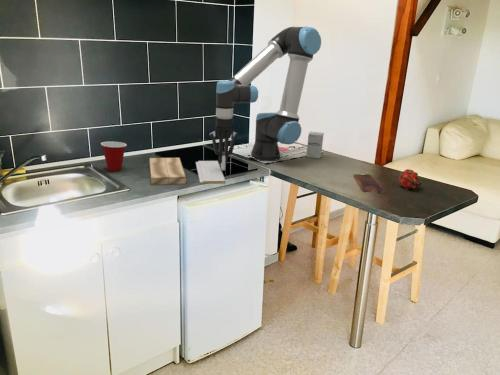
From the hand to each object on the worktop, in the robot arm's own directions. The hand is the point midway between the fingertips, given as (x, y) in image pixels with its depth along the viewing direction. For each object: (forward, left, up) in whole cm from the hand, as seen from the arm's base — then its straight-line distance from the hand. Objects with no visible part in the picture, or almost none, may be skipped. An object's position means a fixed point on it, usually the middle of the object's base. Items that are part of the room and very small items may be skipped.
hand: (222, 169), depth 193 cm
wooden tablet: (-61, +22, -2) cm, 65 cm away
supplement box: (-54, -24, -2) cm, 59 cm away
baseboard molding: (+7, 0, -2) cm, 7 cm away
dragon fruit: (-76, +30, -2) cm, 82 cm away
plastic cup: (+47, -8, -2) cm, 48 cm away
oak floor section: (+25, 0, -1) cm, 25 cm away
